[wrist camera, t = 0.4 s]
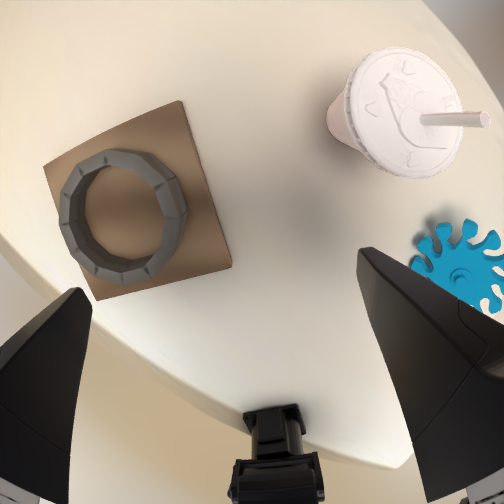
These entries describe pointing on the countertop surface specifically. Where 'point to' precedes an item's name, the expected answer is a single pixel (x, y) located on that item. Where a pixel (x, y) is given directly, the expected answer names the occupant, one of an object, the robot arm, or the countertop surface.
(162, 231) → the collar stand
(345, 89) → the smoothie
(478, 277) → the gear
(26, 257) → the countertop surface
